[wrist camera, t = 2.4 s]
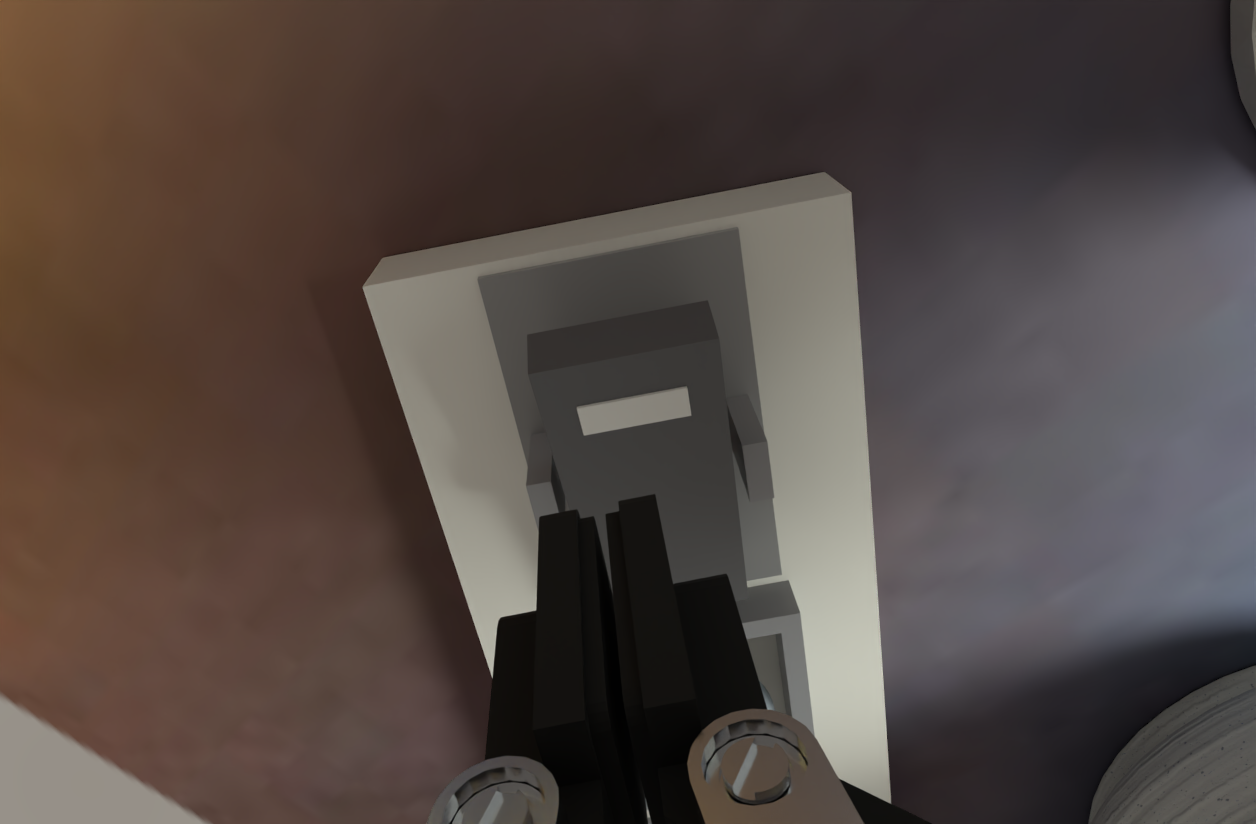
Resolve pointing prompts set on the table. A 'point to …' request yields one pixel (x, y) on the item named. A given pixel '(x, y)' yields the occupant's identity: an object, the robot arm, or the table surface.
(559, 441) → the block
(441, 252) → the panel
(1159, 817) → the vase
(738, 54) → the table surface
